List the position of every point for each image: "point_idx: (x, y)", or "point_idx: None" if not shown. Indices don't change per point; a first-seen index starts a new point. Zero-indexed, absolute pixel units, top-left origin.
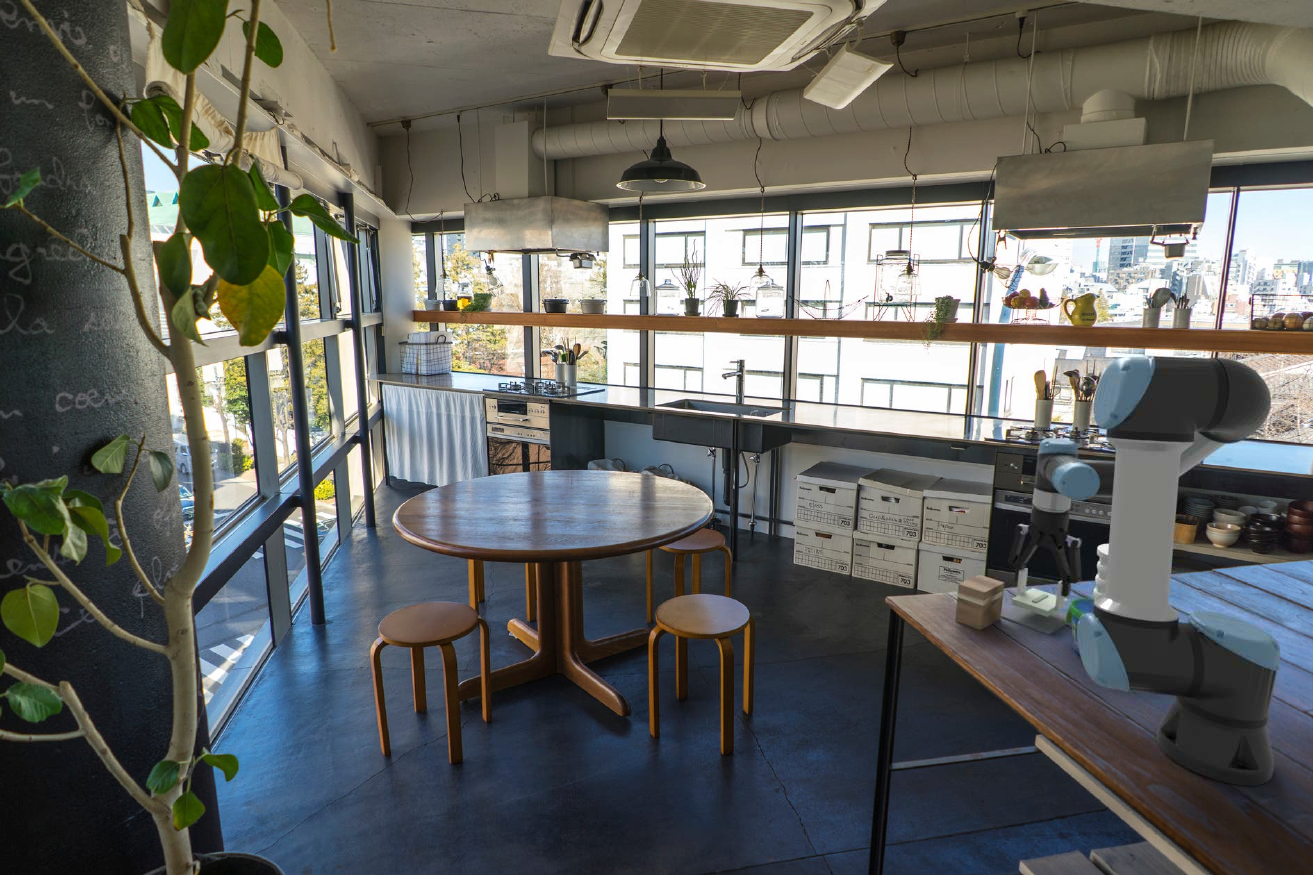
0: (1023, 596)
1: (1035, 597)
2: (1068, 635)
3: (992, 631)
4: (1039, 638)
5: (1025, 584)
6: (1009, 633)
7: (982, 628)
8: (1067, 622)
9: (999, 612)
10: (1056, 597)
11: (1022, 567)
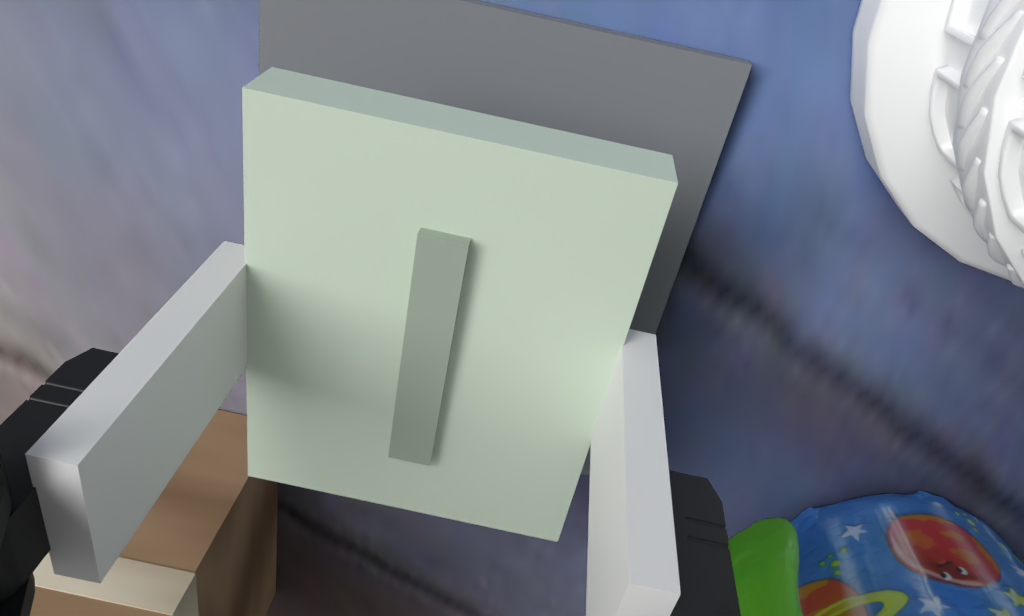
0: (290, 380)
1: (381, 339)
2: (717, 414)
3: (327, 576)
4: (561, 535)
5: (204, 328)
6: (404, 557)
7: (275, 582)
8: (692, 228)
9: (256, 482)
10: (590, 511)
11: (25, 533)
